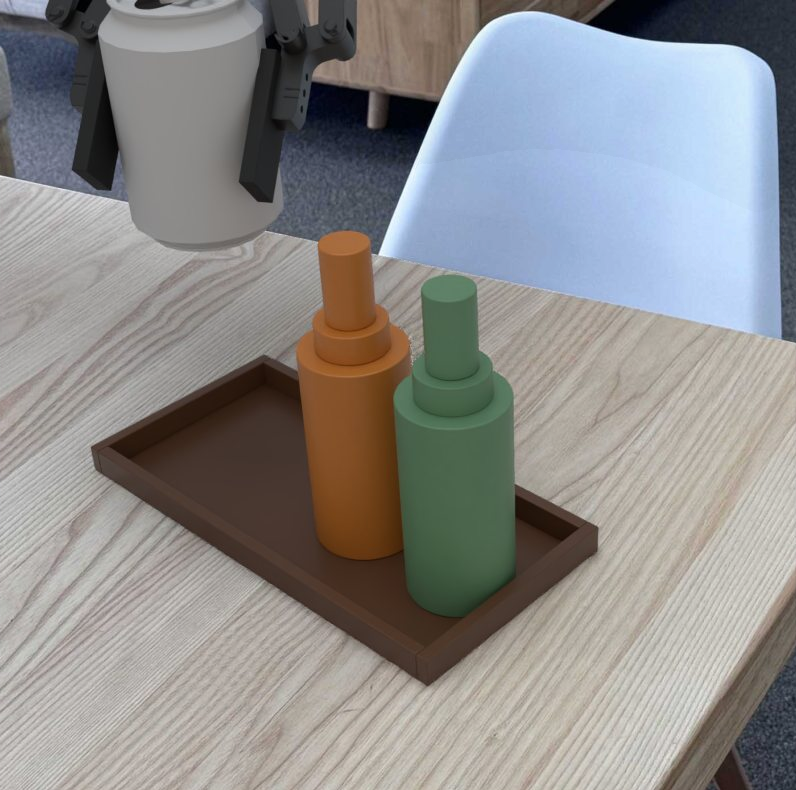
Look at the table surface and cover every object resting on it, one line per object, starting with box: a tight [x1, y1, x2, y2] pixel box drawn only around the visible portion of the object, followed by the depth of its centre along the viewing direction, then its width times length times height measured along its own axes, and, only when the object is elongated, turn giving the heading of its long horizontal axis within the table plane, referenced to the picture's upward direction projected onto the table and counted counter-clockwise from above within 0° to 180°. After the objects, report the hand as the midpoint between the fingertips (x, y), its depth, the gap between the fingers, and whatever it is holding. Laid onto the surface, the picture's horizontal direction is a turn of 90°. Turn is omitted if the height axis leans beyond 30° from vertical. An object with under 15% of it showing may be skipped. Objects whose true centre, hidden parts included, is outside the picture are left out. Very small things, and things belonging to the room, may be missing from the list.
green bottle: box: [393, 274, 516, 618], centre depth 64 cm, size 5×5×16 cm
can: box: [98, 0, 285, 253], centre depth 67 cm, size 8×8×12 cm
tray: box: [89, 354, 599, 687], centre depth 74 cm, size 25×12×2 cm, turn 49°
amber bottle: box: [295, 230, 412, 560], centre depth 68 cm, size 5×5×16 cm
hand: (173, 186), depth 65 cm, fingers closed on can, 7 cm apart
